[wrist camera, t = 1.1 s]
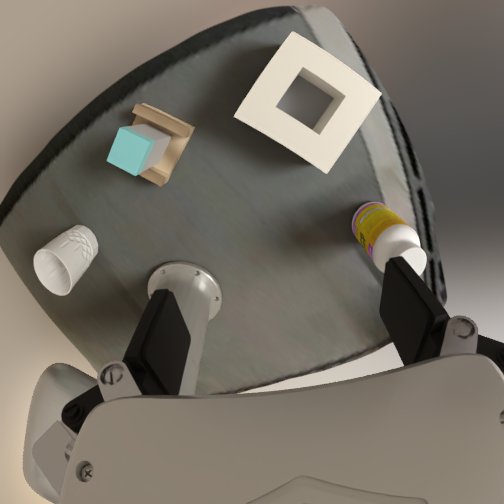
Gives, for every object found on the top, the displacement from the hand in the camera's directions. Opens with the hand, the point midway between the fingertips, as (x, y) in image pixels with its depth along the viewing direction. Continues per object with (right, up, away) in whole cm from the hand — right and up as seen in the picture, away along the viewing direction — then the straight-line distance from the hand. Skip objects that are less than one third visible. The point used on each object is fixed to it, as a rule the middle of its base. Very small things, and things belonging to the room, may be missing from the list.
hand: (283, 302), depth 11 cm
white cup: (-30, +4, +29) cm, 42 cm away
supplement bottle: (+16, +7, +27) cm, 32 cm away
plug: (-14, +16, +21) cm, 30 cm away
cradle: (-14, +17, +21) cm, 31 cm away
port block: (+5, +21, +19) cm, 29 cm away
